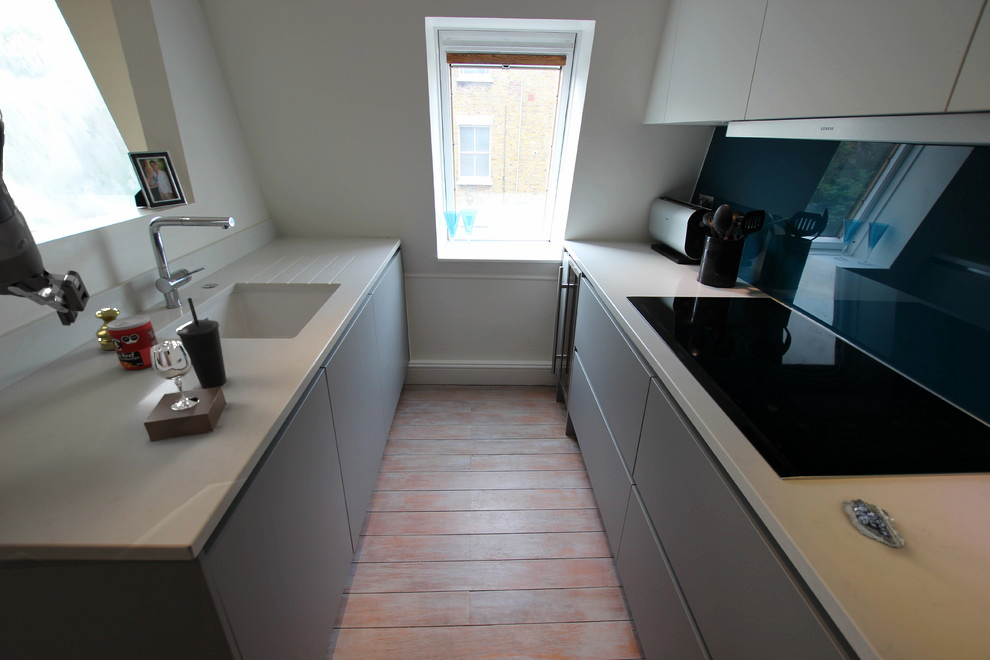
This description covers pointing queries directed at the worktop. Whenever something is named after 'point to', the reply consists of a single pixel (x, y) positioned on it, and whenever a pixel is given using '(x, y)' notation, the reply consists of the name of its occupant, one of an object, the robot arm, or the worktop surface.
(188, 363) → the wineglass
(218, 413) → the walnut block
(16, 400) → the worktop surface
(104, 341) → the brass candlestick
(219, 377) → the drinking cup
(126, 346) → the canned food
